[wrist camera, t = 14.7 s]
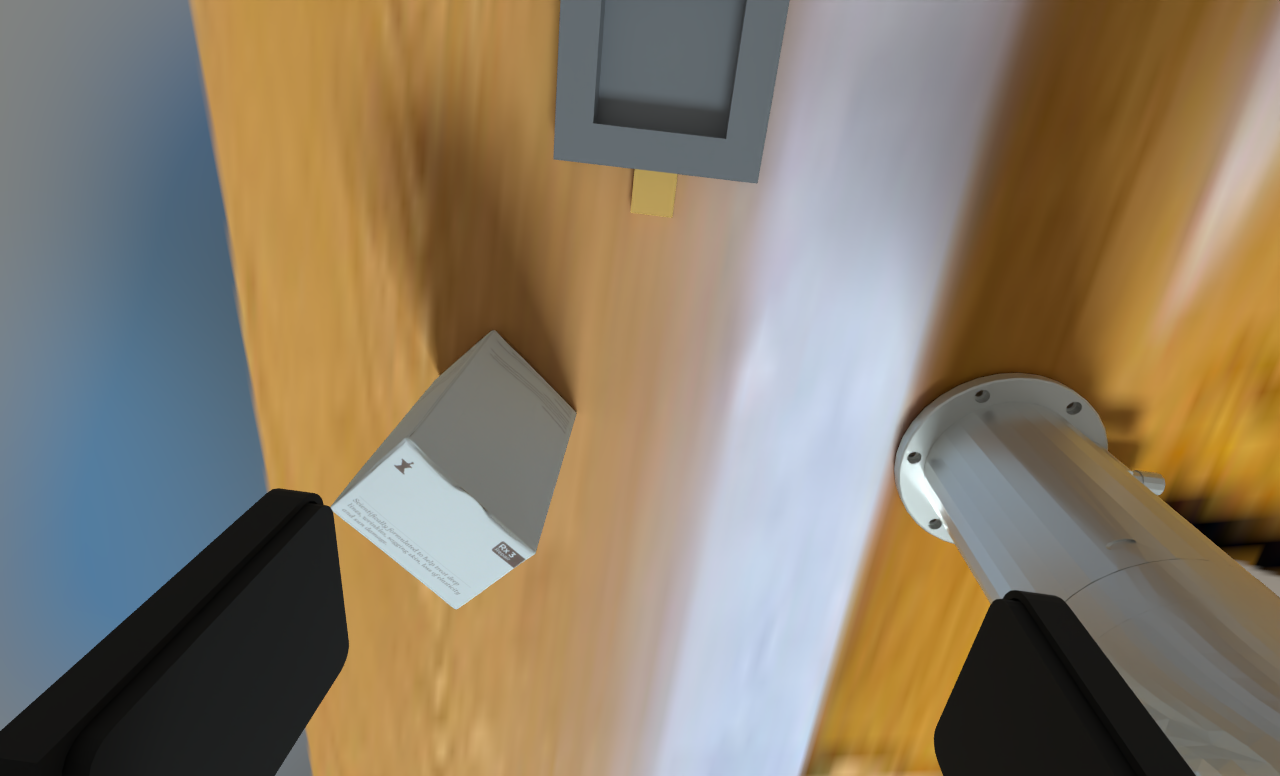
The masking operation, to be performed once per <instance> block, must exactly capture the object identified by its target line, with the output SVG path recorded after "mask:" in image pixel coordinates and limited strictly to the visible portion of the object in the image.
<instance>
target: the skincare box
mask: <svg viewBox="0 0 1280 776" xmlns="http://www.w3.org/2000/svg"><path fill="white" fill-rule="evenodd" d="M576 414H577V413H576V412H575V411H574V410H573V409H572V408H571V407H570V405H569V404H568V403H567V402H566V401H565V400H564V399H563V398H562V397H561V396H560V395H559V394H558V393H557V392H556V391H555V390H554V389H553V388H552V387H551V386H550V385H549V384H548V383H547V382H546V381H545V380H544V379H543V378H542V377H541V376H540V375H539V374H538V373H537V372H536V371H535V370H534V369H533V368H532V367H531V366H530V365H529V364H528V363H527V362H526V361H525V360H524V359H523V358H522V357H521V356H520V355H519V354H518V353H517V352H516V351H515V350H514V349H513V348H512V347H511V346H510V345H509V344H508V343H507V342H506V341H505V340H504V339H503V338H502V337H501V336H500V335H499V334H498V333H497V331H495V330H492V331H490V332H489V333H488V334H487V335H486V336H485V337H483V338H482V339H481V340H480V341H479V342H478V343H477V344H475V345H474V346H473V347H472V348H471V349H470V350H468V351H467V352H466V353H465V354H464V355H463V356H462V357H460V358H459V359H458V360H457V361H456V362H455V363H454V364H453V365H451V366H450V367H449V368H448V369H447V370H446V371H445V372H443V373H442V374H441V375H440V376H439V377H438V378H437V379H436V380H435V381H434V382H433V383H432V384H431V386H430V387H429V388H428V389H427V390H426V391H425V393H424V394H423V395H422V396H421V397H420V399H419V400H418V401H417V402H416V403H415V405H414V406H413V407H412V408H411V409H410V411H409V412H408V413H407V414H406V416H405V417H404V418H403V419H402V421H401V422H400V423H399V424H398V425H397V427H396V428H395V429H394V430H393V431H392V433H391V434H390V435H389V436H388V437H387V438H386V440H385V441H384V442H383V443H382V444H381V446H380V447H379V448H378V449H377V450H376V452H375V453H374V454H373V455H372V456H371V458H370V459H369V460H368V461H367V462H366V464H365V465H364V466H363V467H362V468H361V470H360V471H359V472H358V473H357V474H356V476H355V477H354V478H353V479H352V481H351V482H350V483H349V484H348V485H347V487H346V488H345V489H344V490H343V492H342V493H341V494H340V496H339V497H338V498H337V499H336V501H335V502H334V503H333V504H332V506H331V509H332V511H333V512H335V513H336V514H337V515H338V516H339V517H341V518H342V519H343V520H344V521H346V522H347V523H348V524H349V525H351V526H352V527H353V528H355V529H356V530H357V531H358V532H360V533H361V534H362V535H363V536H365V537H366V538H367V539H369V540H370V541H371V542H372V543H374V544H375V545H376V546H377V547H379V548H380V549H381V550H382V551H384V552H385V553H386V554H387V555H389V556H390V557H391V558H392V559H394V560H395V561H396V562H397V563H398V564H400V565H401V566H402V567H403V568H405V569H406V570H407V571H408V572H410V573H411V574H412V575H413V576H415V577H416V578H417V579H418V580H420V581H421V582H422V583H423V584H425V585H426V586H427V587H428V588H430V589H431V590H432V591H433V592H434V593H436V594H437V595H438V596H439V597H441V598H442V599H443V600H444V601H445V602H447V603H448V604H449V605H450V606H451V607H453V608H454V609H458V608H459V607H461V606H462V605H464V604H465V603H467V602H468V601H470V600H471V599H472V598H474V597H475V596H477V595H478V594H479V593H481V592H482V591H483V590H485V589H486V588H487V587H489V586H490V585H491V584H493V583H494V582H496V581H497V580H498V579H500V578H501V577H503V576H504V575H505V574H507V573H508V572H509V571H511V570H512V569H513V568H515V567H516V566H518V565H519V564H521V563H522V562H524V561H525V560H527V559H528V558H530V557H531V556H533V555H534V554H535V553H536V550H537V546H538V543H539V539H540V536H541V532H542V529H543V526H544V522H545V519H546V515H547V512H548V509H549V505H550V502H551V498H552V495H553V492H554V488H555V485H556V482H557V478H558V475H559V472H560V468H561V465H562V461H563V458H564V454H565V451H566V448H567V444H568V441H569V437H570V434H571V431H572V427H573V424H574V420H575V417H576Z"/></svg>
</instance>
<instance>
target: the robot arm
mask: <svg viewBox="0 0 1280 776" xmlns="http://www.w3.org/2000/svg"><path fill="white" fill-rule="evenodd" d="M977 392H978V393H977ZM976 393H977V394H976ZM910 453H911V454H910ZM894 473H895V484H896V487H897V490H898V493H899V496H900V499H901V501H902V502H903V504H904V506H905V508H906V510H907V512H908V513H909V514H910V515H911V517H912V518H913V519H914V520H915V522H916V523H917V524H918V525H919V526H921V527H922V528H923V529H924V530H925V531H927V532H928V533H930V534H932V535H934V536H936V537H937V538H939V539H941V540H943V541H946V542H950V543H953V544H955V545H956V547H957V548H958V550H959V552H960V553H961V555H962V557H963V558H964V560H965V562H966V563H967V565H968V567H969V568H970V570H971V572H972V573H973V575H974V577H975V578H976V580H977V582H978V583H979V585H980V587H981V588H982V590H983V592H984V593H985V595H986V597H987V599H988V600H989V602H990V604H991V605H990V607H989V609H988V612H987V614H986V616H985V618H984V621H983V623H982V625H981V627H980V630H979V632H978V634H977V636H976V639H975V641H974V643H973V645H972V648H971V650H970V652H969V654H968V657H967V659H966V661H965V663H964V666H963V668H962V670H961V672H960V675H959V677H958V679H957V681H956V684H955V686H954V688H953V690H952V693H951V695H950V697H949V699H948V702H947V704H946V706H945V708H944V711H943V713H942V715H941V717H940V720H939V722H938V724H937V726H936V729H935V734H934V747H935V753H936V757H937V760H938V763H939V766H940V768H941V771H942V774H943V776H1280V598H1279V597H1278V596H1277V595H1276V594H1275V593H1274V592H1272V591H1271V590H1270V589H1269V588H1268V587H1266V586H1265V585H1264V584H1263V583H1262V582H1260V581H1259V580H1258V579H1256V578H1255V577H1254V576H1252V575H1251V574H1250V573H1249V572H1248V571H1246V570H1245V569H1244V568H1243V567H1242V566H1240V565H1239V564H1238V563H1237V562H1236V561H1235V560H1233V559H1232V558H1231V557H1230V556H1229V555H1227V554H1226V553H1225V552H1224V551H1223V550H1221V549H1220V548H1219V547H1218V546H1217V545H1215V544H1214V543H1213V542H1212V541H1211V540H1209V539H1208V538H1207V537H1206V536H1205V535H1203V534H1202V533H1201V532H1200V531H1199V530H1197V529H1196V528H1195V527H1194V526H1193V525H1191V524H1190V523H1189V522H1188V521H1187V520H1186V519H1184V518H1183V517H1182V516H1181V515H1180V514H1178V513H1177V512H1176V511H1175V510H1174V509H1172V508H1171V507H1170V506H1169V505H1168V504H1166V503H1165V502H1164V501H1163V500H1162V499H1160V498H1159V497H1158V496H1157V495H1160V494H1161V493H1162V492H1163V491H1164V488H1165V480H1164V478H1163V477H1162V475H1161V474H1158V473H1154V472H1146V471H1138V470H1135V471H1131V470H1130V469H1129V468H1128V467H1126V466H1125V465H1124V464H1123V463H1122V462H1120V461H1119V460H1118V459H1117V458H1116V457H1114V456H1113V455H1112V454H1111V453H1110V452H1108V441H1107V435H1106V429H1105V427H1104V425H1103V423H1102V421H1101V418H1100V416H1099V414H1098V413H1097V412H1096V411H1095V409H1094V408H1093V407H1092V406H1091V405H1090V403H1089V402H1088V401H1087V400H1086V399H1084V398H1083V397H1082V396H1080V395H1079V394H1078V393H1077V392H1075V391H1074V390H1073V389H1071V388H1069V387H1067V386H1066V385H1064V384H1062V383H1060V382H1059V381H1056V380H1053V379H1050V378H1047V377H1044V376H1040V375H1034V374H1026V373H1003V374H995V375H990V376H986V377H981V378H977V379H974V380H972V381H969V382H966V383H964V384H961V385H958V386H957V387H955V388H953V389H951V390H950V391H948V392H946V393H944V394H942V395H941V396H939V397H938V398H937V399H936V400H934V401H933V402H932V403H931V404H929V405H928V406H927V407H925V408H924V409H923V411H922V412H921V413H920V414H919V415H918V416H917V417H916V418H915V419H914V421H913V422H912V423H911V425H910V426H909V428H908V429H907V431H906V433H905V434H904V436H903V437H902V440H901V443H900V445H899V448H898V451H897V453H896V460H895V467H894ZM348 649H349V640H348V631H347V623H346V615H345V607H344V598H343V590H342V582H341V574H340V565H339V557H338V549H337V540H336V532H335V524H334V516H333V511H332V509H331V508H330V507H329V506H326V505H323V501H322V499H321V497H320V496H319V495H317V494H315V493H308V492H301V491H294V490H287V489H279V488H278V489H272V490H271V491H269V492H268V493H266V494H265V495H264V496H263V497H262V498H261V499H260V500H259V501H258V502H256V503H255V504H254V505H253V506H252V507H251V508H250V509H249V510H247V511H246V512H245V513H244V514H243V515H242V516H241V517H240V518H238V519H237V520H236V521H235V522H234V523H233V524H232V525H231V526H229V527H228V528H227V529H226V530H225V531H224V532H223V533H222V534H221V535H219V536H218V537H217V538H216V539H215V540H214V541H213V542H212V543H210V545H208V546H207V547H206V548H205V549H204V550H203V551H202V552H200V553H199V554H198V555H197V556H196V557H195V558H194V559H193V560H191V561H190V562H189V563H188V564H187V565H186V566H185V567H184V568H183V569H181V570H180V571H179V572H178V573H177V574H176V575H175V576H174V577H172V578H171V579H170V580H169V581H168V582H167V583H166V584H165V585H163V586H162V587H161V588H160V589H159V590H158V591H157V592H156V593H154V594H153V595H152V596H151V597H150V598H149V599H148V600H147V601H146V602H144V603H143V604H142V605H141V606H140V607H139V608H138V609H137V610H136V611H134V612H133V613H132V614H131V615H130V616H129V617H128V618H126V619H125V620H124V621H123V622H122V623H121V624H120V625H119V626H118V627H117V628H116V629H114V630H113V631H112V632H111V633H110V634H109V635H107V636H106V637H105V638H104V639H103V640H102V641H101V642H100V643H98V644H97V645H96V646H95V647H94V648H93V649H92V650H91V651H90V652H89V653H87V654H86V655H85V656H84V657H83V658H82V659H81V660H79V661H78V662H77V663H76V664H75V665H74V666H73V667H72V668H71V669H70V670H68V671H67V672H66V673H65V674H64V675H63V676H62V677H60V678H59V679H58V680H57V681H56V682H55V683H54V684H53V685H51V686H50V687H49V688H48V689H47V690H46V691H45V692H44V693H42V694H41V695H40V696H39V697H38V698H37V699H36V700H35V701H34V702H32V703H31V704H30V705H29V706H28V707H27V708H26V709H25V710H23V711H22V712H21V713H20V714H19V715H18V716H17V717H16V718H14V719H13V720H12V721H11V722H10V723H9V724H8V725H7V726H6V727H5V728H3V729H2V730H1V731H0V776H275V774H276V773H277V771H278V769H279V768H280V766H281V765H282V763H283V762H284V760H285V758H286V757H287V755H288V754H289V752H290V750H291V749H292V747H293V746H294V744H295V743H296V741H297V739H298V738H299V736H300V735H301V733H302V731H303V730H304V728H305V727H306V725H307V724H308V722H309V721H310V719H311V717H312V716H313V714H314V713H315V711H316V709H317V708H318V706H319V705H320V703H321V702H322V700H323V698H324V697H325V695H326V694H327V692H328V691H329V689H330V687H331V686H332V684H333V683H334V681H335V679H336V678H337V676H338V675H339V673H340V672H341V670H342V668H343V666H344V663H345V661H346V658H347V654H348Z"/></svg>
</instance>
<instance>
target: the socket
mask: <svg viewBox="0 0 1280 776" xmlns="http://www.w3.org/2000/svg"><path fill="white" fill-rule="evenodd" d="M788 6H789V0H561V4H560V26H559V49H558V71H557V93H556V116H555V138H554V159H556V160H564V161H573V162H581V163H589V164H598V165H606V166H615V167H623V168H632V169H635V171H634V181H633V192H632V202H631V212H630V213H638V214H646V215H654V216H662V217H671V218H672V216H673V208H674V200H675V192H676V184H677V176H678V174H682V175H690V176H699V177H707V178H716V179H724V180H732V181H741V182H749V183H758V177H759V171H760V166H761V160H762V154H763V149H764V143H765V137H766V131H767V126H768V120H769V114H770V109H771V103H772V97H773V92H774V86H775V80H776V74H777V69H778V63H779V57H780V52H781V46H782V40H783V35H784V29H785V23H786V18H787V12H788Z"/></svg>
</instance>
